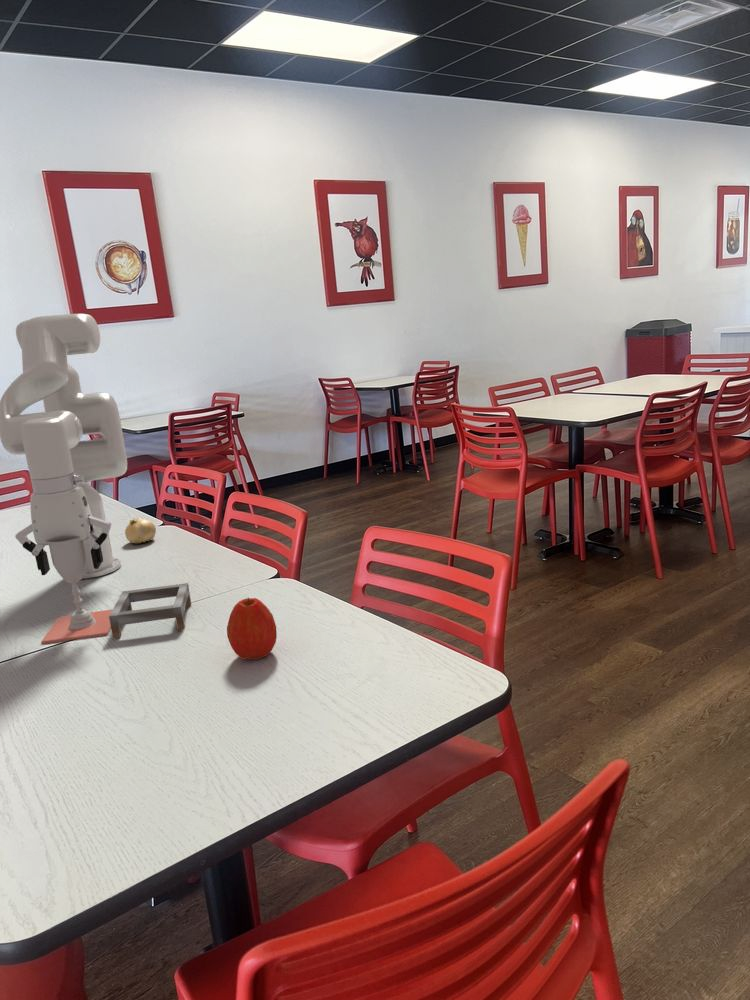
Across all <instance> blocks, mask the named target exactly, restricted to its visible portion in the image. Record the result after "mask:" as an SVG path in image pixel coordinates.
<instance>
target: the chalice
mask: <svg viewBox="0 0 750 1000" xmlns="http://www.w3.org/2000/svg"><path fill="white" fill-rule="evenodd" d="M79 538H80V537H78V538H76V539H72V540H67V541H61V542H47V541H46V542H47V543H48V545H47V546H48V547H49V552H50V557H51V558H50V559H51V561H52V565H53V566H54V568H55V570H56V572H57V573H58V574H59V576H60V577H61V578H62V579H63V580H64V582H65V583H68V584H71V587H72V588H71V594H72V595H73V598H74V599H73V601H72V603H73V604H75V608H76V610H75V612H73V613H72V614H71V615H72V616H71V620H70V624H69V628H70V629H82V628H86V627H89V626H91V625H93V624H94V623H95V622H96V620H95V619H94V618H93V616H92V615H91V613H90V612H91V611H89V610H87V609H84V608H83V606H82V602H83V599H82V598H81V596H80V593H81V590H80V589H79V587H78V582H79V581H81V580H82V579H81V578H82V575H83V572H84V568H85V563H86V554H85V549H84V543H83V541H79Z"/></svg>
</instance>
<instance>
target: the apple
mask: <svg viewBox="0 0 750 1000" xmlns="http://www.w3.org/2000/svg"><path fill="white" fill-rule="evenodd" d="M230 612H231V613H230V615H229V618H228V621H227V625H226V634H227V635H226V636H227V639H228V642H229V645H230V647H231V649H232V650H233V652H234V653H235V654H236V655H237V656H238V657H239V658H241V659H244V660H256V659H261V658H264V657H267V656H268V655H269V654H270V653H271V652H272V650H273V649H274V647H275V645H276V643H277V624H276V622H275V618H274V616H273V613H272V612H271V611H270V609H269V608H268V607H267V605H265V603H264V602H262V601H261V600H260V599H259V598H257V597H254V598H250V597H247V598H243V599H241V600H239V601H238V602H236V604H235V605H234V606H233V608H232V610H231V611H230Z"/></svg>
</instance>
